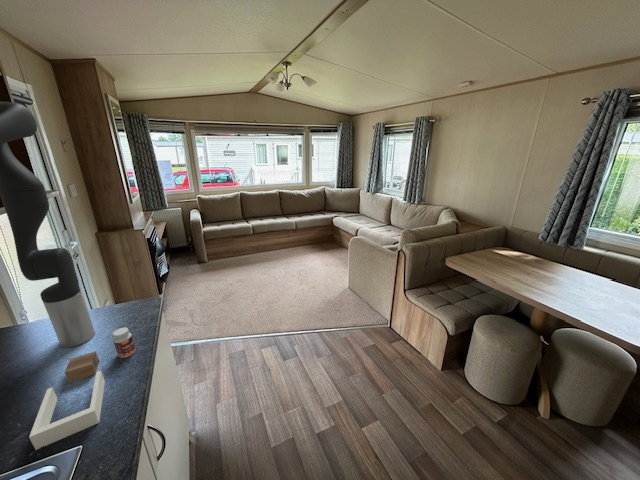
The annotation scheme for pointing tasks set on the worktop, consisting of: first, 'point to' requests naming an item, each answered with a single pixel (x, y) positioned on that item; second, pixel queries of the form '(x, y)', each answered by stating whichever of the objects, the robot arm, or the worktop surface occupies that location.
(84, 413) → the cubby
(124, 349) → the pill bottle
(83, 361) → the walnut block
